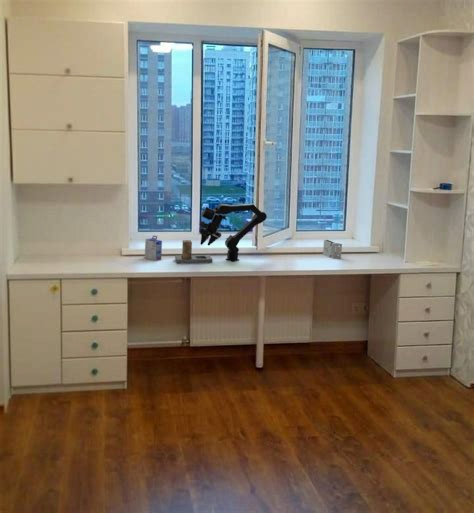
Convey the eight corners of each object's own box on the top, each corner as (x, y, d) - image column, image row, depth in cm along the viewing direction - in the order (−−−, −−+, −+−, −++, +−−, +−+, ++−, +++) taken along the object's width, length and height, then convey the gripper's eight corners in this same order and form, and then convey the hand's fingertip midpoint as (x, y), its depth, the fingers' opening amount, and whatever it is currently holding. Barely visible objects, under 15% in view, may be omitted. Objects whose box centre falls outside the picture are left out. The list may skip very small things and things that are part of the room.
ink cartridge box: (162, 259, 403) (162, 237, 399) (155, 261, 398) (156, 238, 394) (150, 256, 408) (151, 234, 404) (144, 258, 404) (144, 235, 400)
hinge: (341, 258, 428) (342, 243, 425) (335, 259, 425) (337, 244, 422) (325, 253, 438) (326, 239, 435) (320, 254, 435) (321, 240, 432)
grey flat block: (209, 259, 409) (209, 255, 409) (212, 263, 401) (212, 259, 400) (175, 259, 404) (175, 255, 403) (177, 263, 395) (177, 259, 395)
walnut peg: (190, 260, 404) (190, 240, 401) (191, 262, 400) (191, 242, 396) (182, 260, 403) (182, 240, 400) (183, 262, 398) (183, 242, 395)
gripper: (213, 218, 412) (202, 239, 416) (198, 215, 396) (187, 237, 399) (226, 226, 408) (215, 247, 411) (212, 224, 391) (200, 246, 394)
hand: (204, 244), depth 404 cm, fingers open, 9 cm apart
